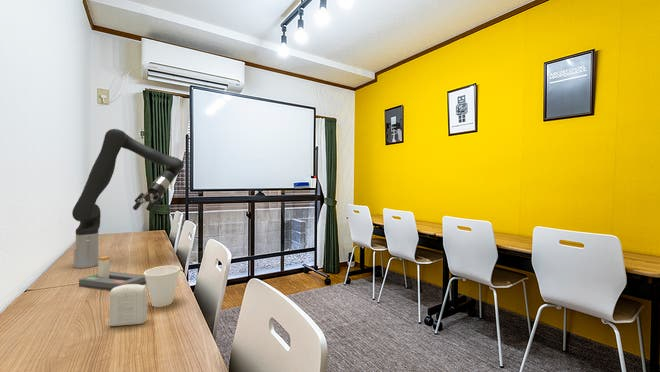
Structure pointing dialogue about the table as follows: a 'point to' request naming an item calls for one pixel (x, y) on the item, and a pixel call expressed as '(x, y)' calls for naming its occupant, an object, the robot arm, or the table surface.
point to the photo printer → (128, 305)
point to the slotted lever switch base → (111, 280)
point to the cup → (162, 284)
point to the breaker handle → (103, 267)
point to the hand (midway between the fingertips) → (140, 209)
